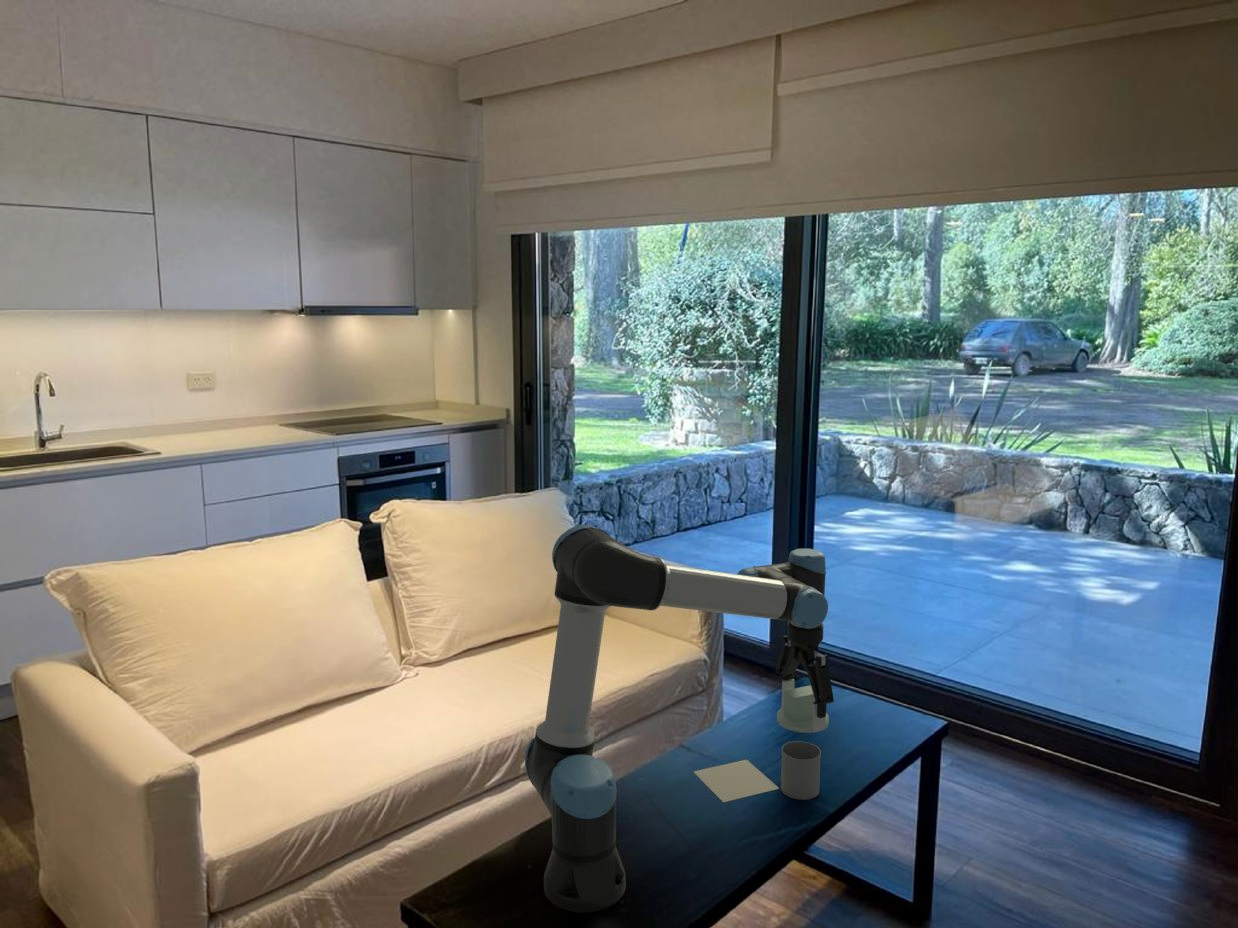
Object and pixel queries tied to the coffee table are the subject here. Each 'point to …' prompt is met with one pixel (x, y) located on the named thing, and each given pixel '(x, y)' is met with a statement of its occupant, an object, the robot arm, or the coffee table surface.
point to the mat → (735, 780)
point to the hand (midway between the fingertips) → (802, 718)
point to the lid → (798, 710)
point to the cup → (800, 770)
